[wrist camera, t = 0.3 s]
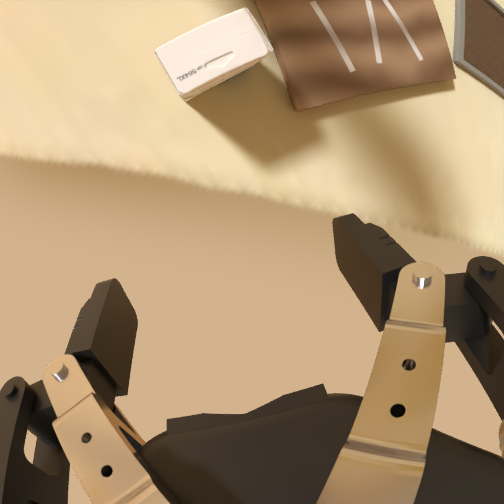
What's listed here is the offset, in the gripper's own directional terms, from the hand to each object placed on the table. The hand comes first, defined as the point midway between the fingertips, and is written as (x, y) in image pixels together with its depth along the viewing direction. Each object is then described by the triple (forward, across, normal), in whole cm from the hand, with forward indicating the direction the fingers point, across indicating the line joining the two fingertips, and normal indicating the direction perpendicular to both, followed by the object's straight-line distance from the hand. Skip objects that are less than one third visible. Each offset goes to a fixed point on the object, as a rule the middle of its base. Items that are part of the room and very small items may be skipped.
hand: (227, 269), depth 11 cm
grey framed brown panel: (+32, -56, -8) cm, 65 cm away
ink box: (+28, -2, -8) cm, 30 cm away
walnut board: (+30, -23, -10) cm, 38 cm away
